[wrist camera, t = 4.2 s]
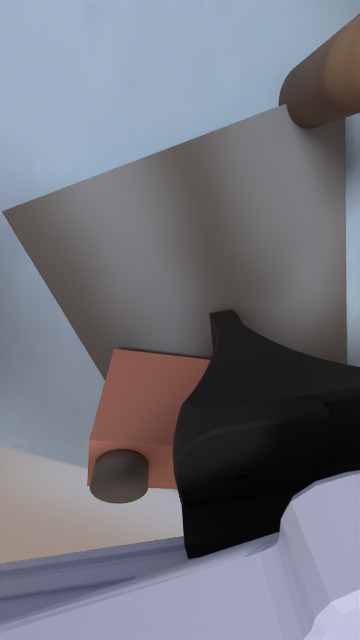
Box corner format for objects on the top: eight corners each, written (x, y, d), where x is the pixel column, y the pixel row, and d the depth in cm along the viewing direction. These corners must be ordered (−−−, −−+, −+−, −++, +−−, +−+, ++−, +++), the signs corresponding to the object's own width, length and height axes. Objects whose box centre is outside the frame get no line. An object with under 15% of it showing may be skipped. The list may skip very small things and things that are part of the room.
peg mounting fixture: (149, 444, 18) (144, 584, 12) (-7, 183, 10) (-273, 187, 4) (345, 389, 17) (456, 512, 10) (341, 47, 9) (760, -258, 3)
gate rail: (299, 404, 15) (368, 514, 10) (110, 386, 14) (82, 507, 9) (316, 372, 14) (404, 477, 9) (114, 348, 12) (83, 461, 7)
